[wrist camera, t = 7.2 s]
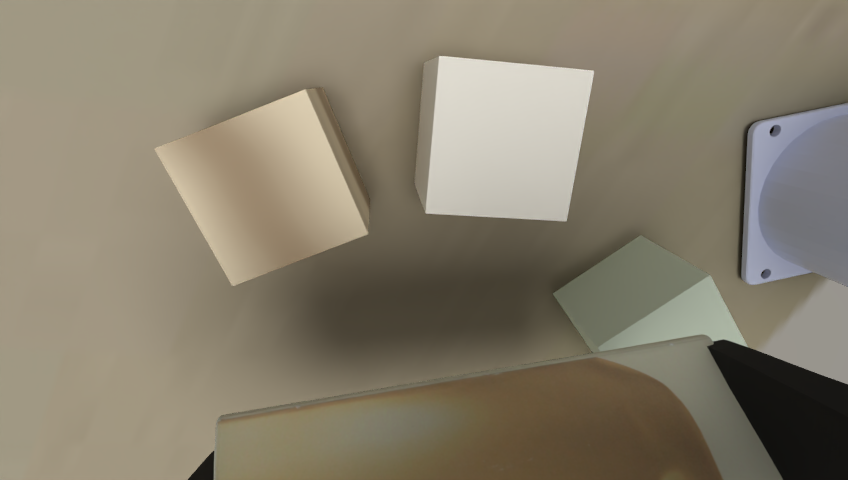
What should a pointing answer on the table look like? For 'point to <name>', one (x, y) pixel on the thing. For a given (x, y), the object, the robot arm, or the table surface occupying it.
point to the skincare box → (514, 425)
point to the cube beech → (271, 185)
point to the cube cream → (499, 138)
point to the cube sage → (645, 300)
